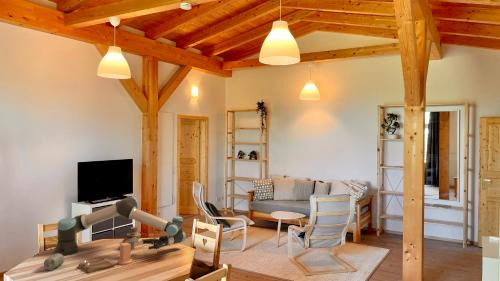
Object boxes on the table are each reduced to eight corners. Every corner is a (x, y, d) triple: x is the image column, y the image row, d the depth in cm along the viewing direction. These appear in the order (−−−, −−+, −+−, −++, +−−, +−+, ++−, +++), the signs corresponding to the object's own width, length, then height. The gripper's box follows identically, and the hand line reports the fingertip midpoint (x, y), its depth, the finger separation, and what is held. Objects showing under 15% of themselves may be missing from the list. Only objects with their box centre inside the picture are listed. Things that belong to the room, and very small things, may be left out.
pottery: (142, 240, 290) (142, 226, 290) (136, 250, 265) (137, 234, 265) (127, 241, 288) (127, 226, 288) (120, 251, 263) (121, 234, 263)
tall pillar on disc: (115, 262, 240) (115, 243, 240) (128, 259, 246) (128, 241, 246) (121, 266, 234) (122, 246, 233) (134, 262, 240) (134, 244, 240)
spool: (55, 267, 220) (51, 251, 223) (41, 273, 221) (38, 257, 224) (70, 265, 233) (66, 250, 236) (57, 271, 234) (53, 256, 237)
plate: (78, 266, 231) (78, 264, 231) (103, 260, 243) (103, 258, 243) (88, 273, 220) (88, 271, 220) (113, 267, 231) (113, 264, 231)
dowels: (81, 265, 229) (81, 260, 229) (85, 264, 230) (85, 260, 230) (86, 269, 223) (86, 264, 223) (90, 268, 225) (90, 263, 225)
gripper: (175, 249, 253) (148, 256, 238) (156, 241, 271) (130, 247, 256) (175, 238, 253) (148, 245, 238) (157, 231, 271) (130, 237, 255)
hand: (139, 246), depth 247 cm, fingers open, 13 cm apart
